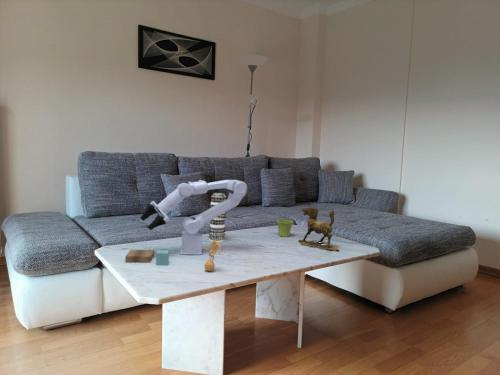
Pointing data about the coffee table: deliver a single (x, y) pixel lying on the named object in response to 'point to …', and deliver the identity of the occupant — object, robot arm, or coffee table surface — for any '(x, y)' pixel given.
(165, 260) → the teal block
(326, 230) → the figurine
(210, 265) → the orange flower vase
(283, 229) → the plant pot
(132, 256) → the walnut block
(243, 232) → the coffee table surface
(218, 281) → the coffee table surface
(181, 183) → the robot arm
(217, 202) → the decorative candle
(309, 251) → the coffee table surface
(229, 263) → the coffee table surface
